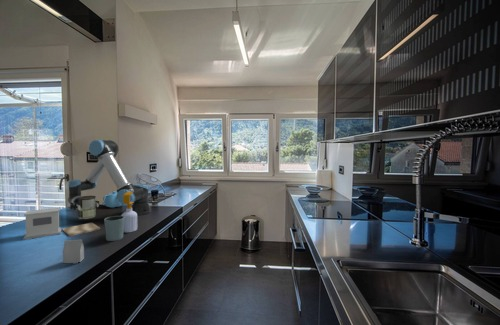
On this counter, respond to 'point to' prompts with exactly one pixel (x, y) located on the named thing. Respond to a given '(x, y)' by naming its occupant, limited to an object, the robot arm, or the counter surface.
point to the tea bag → (73, 251)
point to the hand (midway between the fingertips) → (89, 206)
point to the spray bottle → (129, 215)
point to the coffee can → (87, 207)
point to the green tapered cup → (114, 228)
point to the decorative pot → (111, 200)
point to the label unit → (42, 223)
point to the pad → (80, 229)
